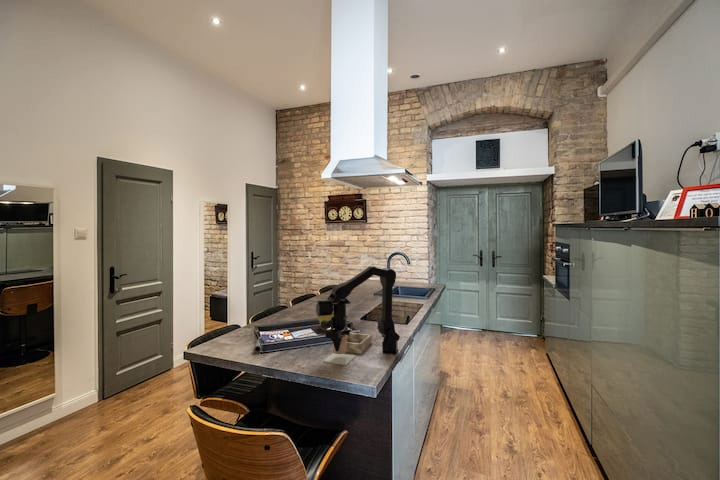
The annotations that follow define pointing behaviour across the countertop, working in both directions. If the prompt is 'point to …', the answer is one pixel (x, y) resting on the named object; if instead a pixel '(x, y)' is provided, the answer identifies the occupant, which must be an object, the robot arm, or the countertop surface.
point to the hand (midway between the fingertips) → (340, 348)
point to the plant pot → (324, 318)
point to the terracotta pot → (342, 345)
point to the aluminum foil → (257, 347)
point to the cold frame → (358, 347)
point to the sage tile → (340, 359)
